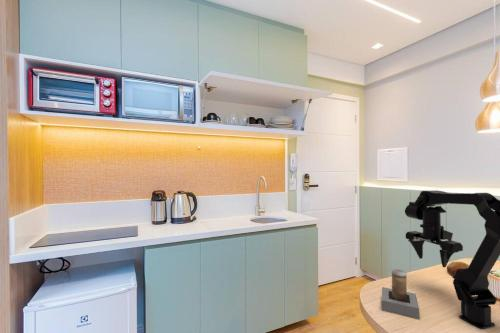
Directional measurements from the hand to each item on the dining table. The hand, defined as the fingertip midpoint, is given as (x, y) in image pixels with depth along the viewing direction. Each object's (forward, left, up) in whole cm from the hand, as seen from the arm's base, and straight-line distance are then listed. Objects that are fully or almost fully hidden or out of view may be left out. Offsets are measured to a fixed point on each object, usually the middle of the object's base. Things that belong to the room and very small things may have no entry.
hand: (432, 262), depth 96 cm
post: (-2, +18, -13) cm, 23 cm away
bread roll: (+10, -30, -13) cm, 35 cm away
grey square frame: (-2, +18, -13) cm, 23 cm away
